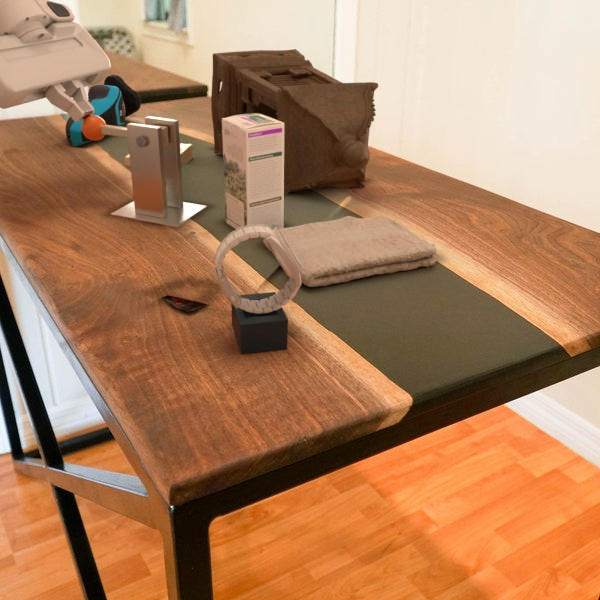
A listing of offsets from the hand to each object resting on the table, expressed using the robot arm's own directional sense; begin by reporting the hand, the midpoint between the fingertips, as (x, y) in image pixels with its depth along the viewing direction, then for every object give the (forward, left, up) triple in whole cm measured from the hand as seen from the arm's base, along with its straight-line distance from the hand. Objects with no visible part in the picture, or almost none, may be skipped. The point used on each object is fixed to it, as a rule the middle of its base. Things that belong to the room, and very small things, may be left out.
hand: (86, 116), depth 85 cm
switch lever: (+5, +2, -3) cm, 6 cm away
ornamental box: (+11, +30, -13) cm, 34 cm away
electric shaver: (-34, +24, -13) cm, 43 cm away
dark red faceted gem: (+29, -9, -13) cm, 33 cm away
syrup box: (+21, +9, -13) cm, 26 cm away
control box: (-10, +19, -12) cm, 25 cm away
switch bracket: (+9, +4, -12) cm, 16 cm away
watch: (+39, -9, -13) cm, 42 cm away
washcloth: (+35, +11, -13) cm, 39 cm away
